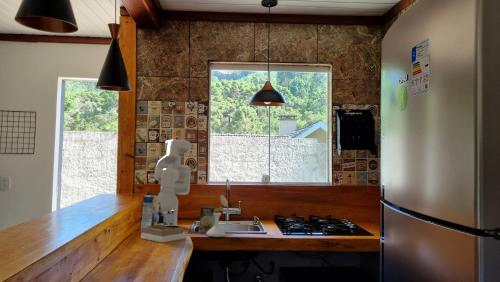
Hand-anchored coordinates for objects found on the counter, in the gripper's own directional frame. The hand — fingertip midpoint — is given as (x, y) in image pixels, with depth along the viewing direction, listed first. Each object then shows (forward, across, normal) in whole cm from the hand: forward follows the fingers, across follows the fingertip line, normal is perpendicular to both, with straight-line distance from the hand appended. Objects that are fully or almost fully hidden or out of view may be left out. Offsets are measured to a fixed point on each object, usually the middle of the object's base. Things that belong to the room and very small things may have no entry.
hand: (164, 222), depth 195 cm
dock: (+9, 0, 0) cm, 9 cm away
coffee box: (+9, -34, +3) cm, 35 cm away
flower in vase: (+9, -28, +16) cm, 34 cm away
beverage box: (+9, -6, -18) cm, 21 cm away
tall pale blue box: (+1, 0, 0) cm, 1 cm away
